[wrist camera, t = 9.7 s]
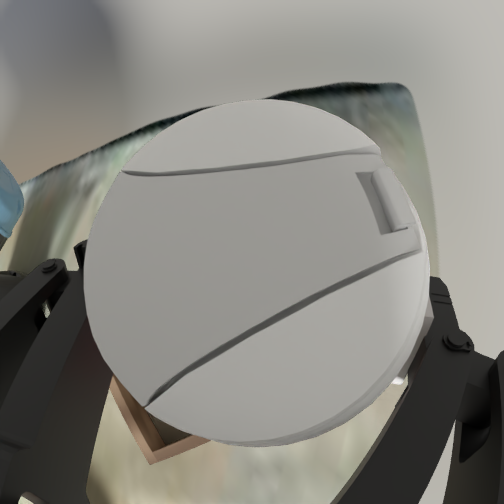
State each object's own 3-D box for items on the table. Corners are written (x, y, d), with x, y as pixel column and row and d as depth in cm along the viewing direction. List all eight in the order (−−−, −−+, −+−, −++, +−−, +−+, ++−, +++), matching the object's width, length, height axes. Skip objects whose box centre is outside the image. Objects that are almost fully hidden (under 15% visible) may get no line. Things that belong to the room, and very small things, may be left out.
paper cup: (341, 241, 19) (351, 54, 6) (376, 361, 16) (498, 392, 3) (223, 275, 20) (68, 158, 7) (249, 393, 18) (89, 467, 5)
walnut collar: (114, 363, 32) (98, 363, 30) (196, 311, 32) (184, 308, 29) (163, 457, 28) (149, 464, 25) (256, 415, 28) (249, 422, 25)
